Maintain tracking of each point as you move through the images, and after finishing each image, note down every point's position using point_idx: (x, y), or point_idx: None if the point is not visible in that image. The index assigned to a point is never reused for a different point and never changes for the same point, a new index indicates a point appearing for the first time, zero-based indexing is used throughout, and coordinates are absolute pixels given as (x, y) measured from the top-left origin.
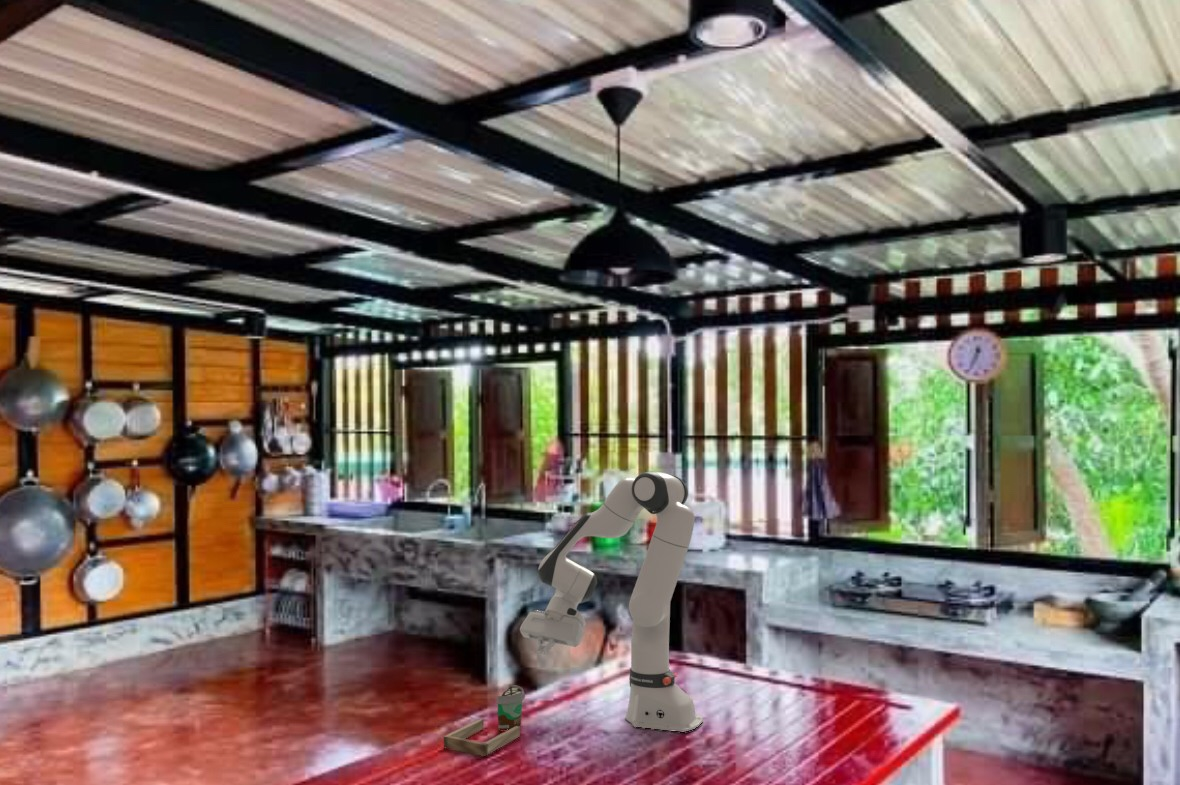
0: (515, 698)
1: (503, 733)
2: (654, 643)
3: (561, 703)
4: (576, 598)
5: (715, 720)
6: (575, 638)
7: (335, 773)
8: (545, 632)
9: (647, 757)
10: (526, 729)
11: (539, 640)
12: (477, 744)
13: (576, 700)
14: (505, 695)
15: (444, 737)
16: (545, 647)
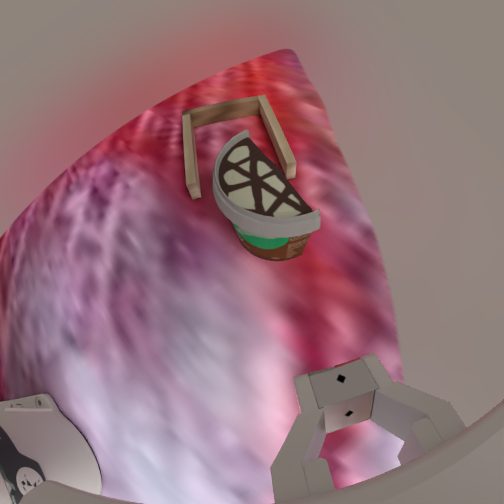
0: (214, 166)
1: (189, 147)
2: None
3: None
4: None
5: None
6: (26, 493)
7: (287, 49)
8: (428, 493)
9: (4, 281)
10: (214, 240)
11: (424, 408)
12: (196, 109)
13: None
14: (254, 160)
15: (263, 96)
16: (308, 401)
